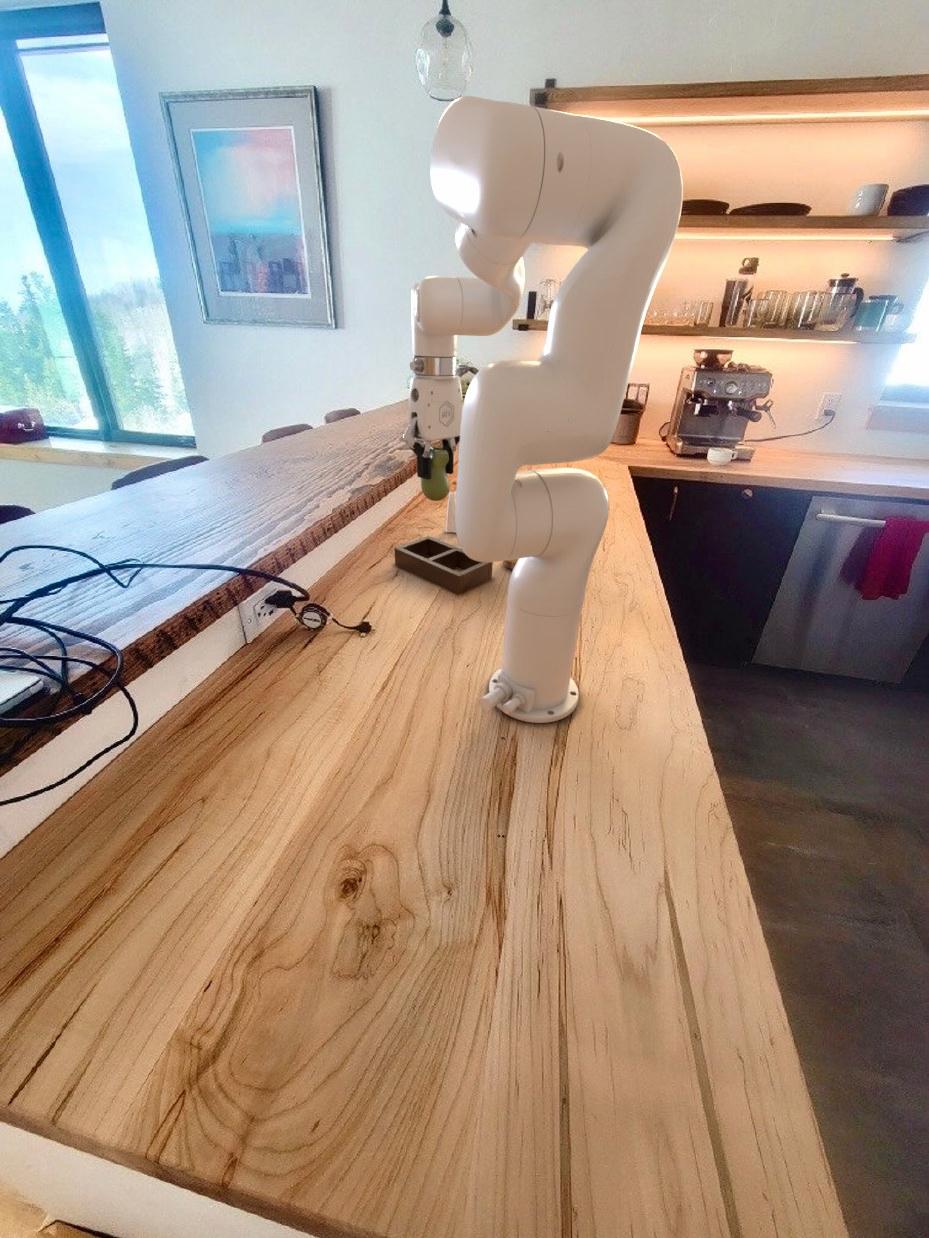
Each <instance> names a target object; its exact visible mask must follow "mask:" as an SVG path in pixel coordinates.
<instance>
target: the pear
mask: <svg viewBox="0 0 929 1238" xmlns="http://www.w3.org/2000/svg"><path fill="white" fill-rule="evenodd" d="M428 457H431V479H429V480H427V479H424V478H420V488H421V491H422V494H423V496H425V498H427V499H428V500H430V501H432V502H439V501H443V500H444V499H446V498H447V496H449V493H450V492H451V491H450V490H451V483H450V479H449V474H447V473H446V465H447V463H448V461H449V455H448V452H447V450H444V449H442V447H441V446H433V445H431V446H430V451H429V456H428Z"/></svg>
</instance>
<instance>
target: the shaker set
mask: <svg viewBox="0 0 929 1238" xmlns="http://www.w3.org/2000/svg"><path fill="white" fill-rule="evenodd" d="M455 501H456V491H454V493H453V491H449V493H448V500H447V508H446V510H447V511H446V520H445V521H446V523H445V533H455V534H456V527H455Z"/></svg>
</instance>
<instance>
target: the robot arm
mask: <svg viewBox="0 0 929 1238" xmlns="http://www.w3.org/2000/svg"><path fill="white" fill-rule="evenodd" d="M429 174H430V175H429V176H430V183H431V189H432V193H433V195H434V198H435V201H436V202H437V204H438V205H439V207H440V208H441V209H442V210H443V212H445V213H446V214H447V215H448V216H449V217H451V218H452V219H454V220H456V221H457V223H456V226H455V234H454V235H455V236H454V237H455V245H456V250H457V252H458V256H459V258H460V259H461V261H462V263H463V264H464V265H465V267H466V268H467V269H468V270H469V271H470V273H472V274H473V275H474V276H476V277H470V276H469V277H467V276H445V275H429V276H426V277H424V278H422V279H421V280H420V281H418V282H416V283H414V284H413V286H412V287H411V292H410V295H411V296H410V307H411V339H412V340H411V345H412V346H411V349H412V361H411V362H410V363H409V368H410V371H412V377H410V384H409V390H408V391H409V393H408V404H407V405H408V408H407V423H408V424H407V425H408V426H407V428H406V430H405V432H404V434H403V436H402V441H403V443H405V444H406V445H407V446H408V447H409V448H410V450H411V451H412V452H413V455H414V456H416V475H417V477H418V478H419V479H421V478H424V479H427V480H429V479H431V457H428V456H429V451H430V448H431V446H432V442H434V441H435V442H436V441H439V442H440V447H441V448H442V449H444V450H447V452H448V455H449V461H448V463H447V465H446V473H447V475H452V474H454V461H455V460H454V458H455V457H454V456H455V455H454V453H455V452H457V446H458V445H459V446H458V458H457V460H458V461H457V473H456V487H455V488H456V489H455V492H456V501H455V500H454V502H455V527H456V533H455V534H456V539H457V542H458V544H459V548H460V549H462V550H463V552H464V553H465V554H466V555H467V556H468V557H469V558H471V559H473V560H475V561H478V562H493V563H498V562H504V561H505V560H512V559H518V561H517V563H516V565H515V567H514V569H513V570H512V571H511V573H510V577H509V582H508V588H507V599H506V610H505V611H506V612H505V621H504V633H503V644H502V645H503V646H502V657H501V658H502V660H501V667H500V668H498V669H497V670H496V671H495V672H494V673H493V674H492V675H491V677H490V679H489V683H488V693H487V694H485V695H484V696H482V697H481V698H480V699H479V705H480V707H481V708H482V709H483V710H484V711H485V712H489V711H491V710H493V709H494V708H495V707H496V708H497V709H498V710H499V711H500V712H502V713H503V714H505V715H507V716H509V717H510V718H514V719H515V720H519V721H523V722H527V723H534V724H547V723H552V722H557V721H559V720H562V719H564V718H567V717H568V716H570V715H571V714H572V713H573V712H574V711H575V709H576V708H577V705H578V702H579V697H580V693H579V688H578V686H577V683H576V682H575V680H573V678H572V677H571V676H572V671H573V665H574V659H575V653H576V649H577V643H578V642H577V641H578V636H579V631H580V626H581V625H580V624H581V618H582V613H583V608H584V603H585V598H586V592H587V587H588V581H589V576H590V573H591V569H592V565H593V563H594V558H595V556H596V553H597V550H598V548H599V546H600V543H601V542H602V539H603V536H604V533H605V530H606V527H607V523H608V520H609V514H610V499H609V495H608V491H607V489H606V487H605V485H604V484H603V482H602V481H601V480H600V479H599V478H598V477H597V476H596V475H595V474H594V473H591V472H590V471H587V470H584V469H582V468H574V467H551V468H536V469H528V470H519V469H520V468H522V467H528V466H538V465H540V466H541V465H553V464H566V463H574V462H582V461H586V460H591V459H594V458H596V457H598V456H600V455H602V454H603V453H604V452H605V451H606V450H607V449H608V447H609V446H610V444H611V443H612V441H613V439H614V438H613V437H614V435H615V433H616V429H617V427H618V423H619V419H620V416H621V412H622V408H623V404H624V400H625V396H626V393H627V389H628V385H629V381H630V377H631V374H632V370H633V365H634V361H635V357H636V354H637V350H638V346H639V342H640V338H641V334H642V333H641V332H642V328H643V325H644V322H645V318H646V315H647V310H648V308H649V306H650V303H651V301H652V298H653V295H654V292H655V290H656V287H657V284H658V282H659V279H660V277H661V275H662V272H663V271H664V268H665V266H666V263H667V260H668V259H669V256H670V254H671V250H672V248H673V245H674V241H675V239H676V236H677V232H678V229H679V225H680V219H681V214H682V208H683V196H684V183H683V175H682V170H681V165H680V163H679V160H678V157H677V155H676V154H675V152H674V150H673V149H672V147H671V146H670V144H668V143H667V142H666V141H665V140H663V139H662V138H661V137H660V136H658V135H657V134H655V133H653V132H652V131H649V130H646V129H644V128H641V127H638V126H635V125H631V124H628V123H625V122H620V121H616V120H612V119H607V118H602V117H596V116H591V115H584V114H575V113H570V112H564V111H560V110H555V109H549V108H543V107H538V106H534V105H529V104H523V103H522V104H521V103H517V102H510V101H501V100H493V99H489V98H483V97H478V96H472V95H463V96H460V97H457V98H456V99H454V100H453V101H451V103H449V105H448V106H447V108H446V109H445V110H444V112H443V113H442V115H441V117H440V119H439V121H438V124H437V126H436V129H435V132H434V136H433V139H432V144H431V148H430V160H429ZM532 244H541V245H552V246H571V247H572V246H573V247H581V248H585V249H587V251H586V252H585V253H584V254H583V255H582V256H581V257H580V258H579V259H578V260H577V262H576V263H575V264H574V265H573V267H572V268H571V270H570V271H569V272H568V274H567V275H566V277H565V278H564V280H563V282H562V283H561V284H560V286H559V288H558V289H557V292H556V294H555V295H554V297H553V300H552V303H551V306H550V310H549V315H548V322H547V328H546V336H545V339H544V340H545V342H544V344H543V345H544V346H543V350H542V353H541V354H540V356H539V357H538V358H537V360H533V359H532V360H527V359H526V360H525V359H523V360H520V359H519V360H518V359H517V360H501V361H499V360H498V361H495V362H491V363H489V364H486V365H485V366H483V367H482V368H481V369H479V370H478V372H476V373H475V374H474V376H473V377H472V380H471V381H470V383H469V385H468V387H467V390H466V393H465V396H464V400H463V389H462V383H461V379H460V377H459V376H457V374H458V336H473V337H489V336H492V335H496V334H497V333H499V332H501V330H502V329H504V328H505V327H506V325H508V323H509V322H510V321H511V319H512V318H513V316H515V314H516V313H517V312H518V310H519V308H520V305H521V302H522V299H523V294H524V290H525V283H526V271H525V269H526V268H525V263H524V258H523V257H524V255H525V254H526V252H527V251H528V249H529V248H530V247H531V245H532Z"/></svg>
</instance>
